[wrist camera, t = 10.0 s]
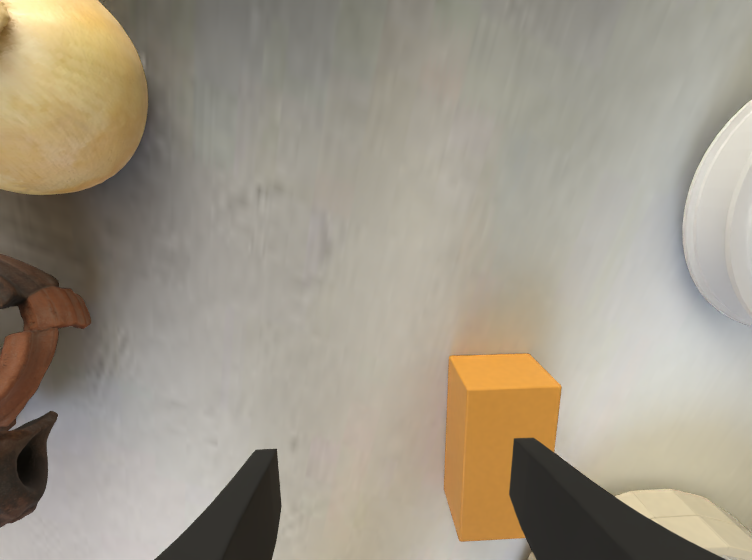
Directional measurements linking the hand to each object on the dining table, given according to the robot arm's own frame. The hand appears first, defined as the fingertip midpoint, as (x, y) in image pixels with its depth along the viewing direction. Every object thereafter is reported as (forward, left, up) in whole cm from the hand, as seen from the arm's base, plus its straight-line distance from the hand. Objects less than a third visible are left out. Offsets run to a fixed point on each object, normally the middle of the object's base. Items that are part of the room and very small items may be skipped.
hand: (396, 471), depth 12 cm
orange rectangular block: (-5, -6, -9) cm, 12 cm away
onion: (+12, +13, -10) cm, 20 cm away
